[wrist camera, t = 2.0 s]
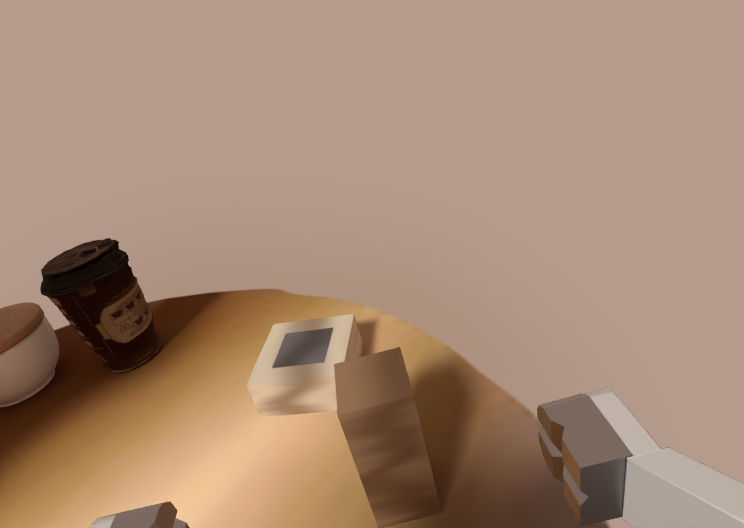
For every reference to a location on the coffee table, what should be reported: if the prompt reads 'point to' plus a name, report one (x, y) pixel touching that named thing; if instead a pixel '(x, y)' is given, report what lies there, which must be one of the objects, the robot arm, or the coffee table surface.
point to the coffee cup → (103, 303)
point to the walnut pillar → (386, 437)
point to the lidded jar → (25, 352)
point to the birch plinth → (303, 365)
